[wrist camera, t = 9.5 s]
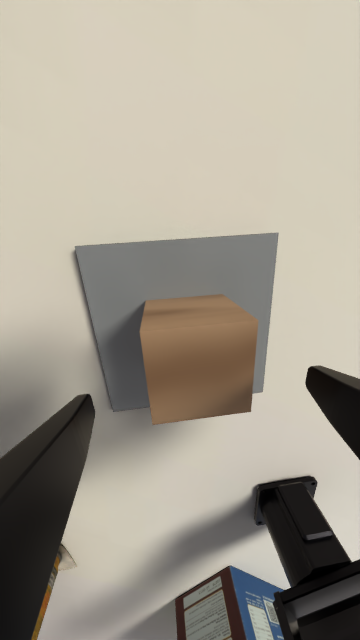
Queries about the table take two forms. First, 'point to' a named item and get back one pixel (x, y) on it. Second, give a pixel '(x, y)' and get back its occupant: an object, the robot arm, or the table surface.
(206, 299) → the walnut cube
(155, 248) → the slate pad
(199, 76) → the table surface
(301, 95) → the table surface
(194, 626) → the protein box
